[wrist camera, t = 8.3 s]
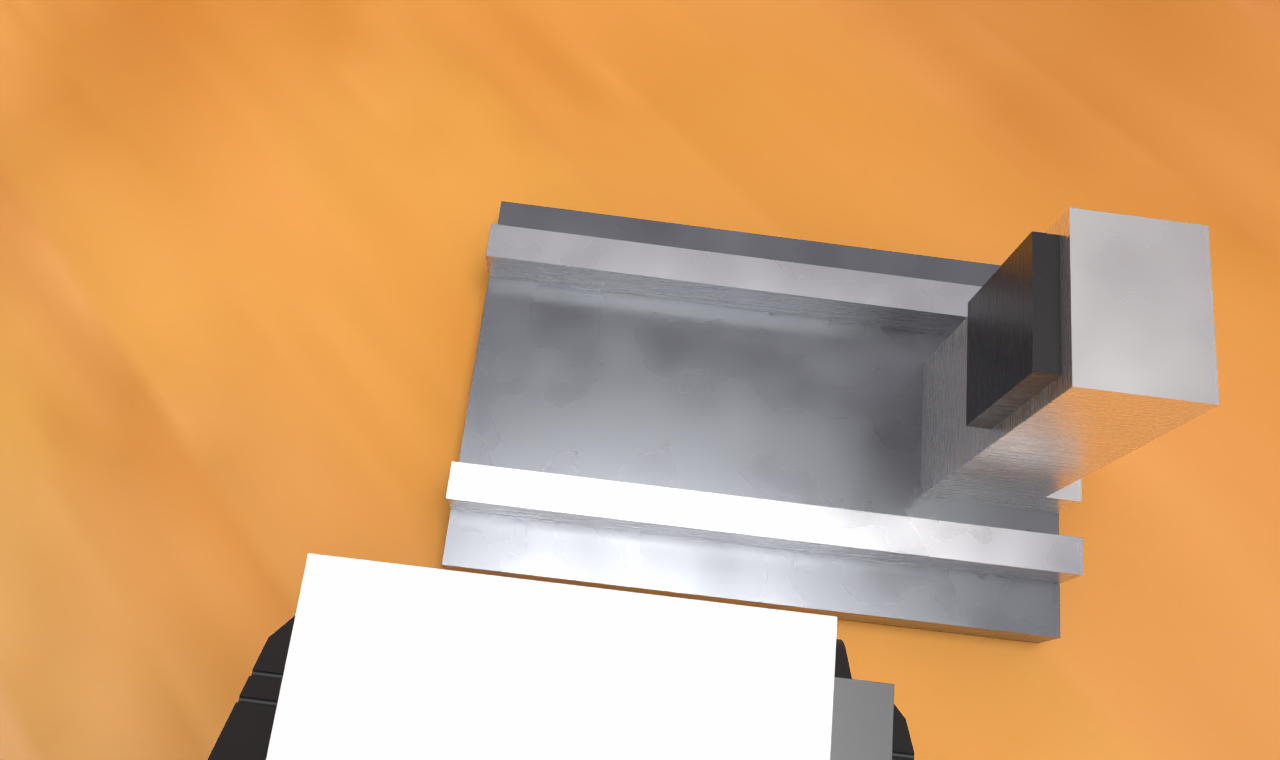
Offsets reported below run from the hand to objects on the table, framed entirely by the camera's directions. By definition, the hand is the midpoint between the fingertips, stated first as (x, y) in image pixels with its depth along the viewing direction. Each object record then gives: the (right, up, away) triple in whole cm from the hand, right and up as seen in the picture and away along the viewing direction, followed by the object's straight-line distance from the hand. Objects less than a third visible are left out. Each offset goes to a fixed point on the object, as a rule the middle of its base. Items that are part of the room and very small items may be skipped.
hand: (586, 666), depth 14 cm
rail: (+4, +2, +20) cm, 21 cm away
